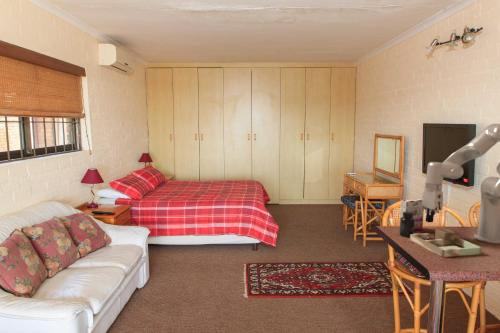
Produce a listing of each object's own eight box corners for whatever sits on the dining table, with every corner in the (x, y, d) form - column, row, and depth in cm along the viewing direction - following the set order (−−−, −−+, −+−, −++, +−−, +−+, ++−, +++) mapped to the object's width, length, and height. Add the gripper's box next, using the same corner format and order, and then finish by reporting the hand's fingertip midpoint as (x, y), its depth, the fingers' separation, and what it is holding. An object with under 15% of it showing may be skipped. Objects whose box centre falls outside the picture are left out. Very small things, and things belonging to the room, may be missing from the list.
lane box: (445, 237, 180) (445, 232, 179) (481, 254, 158) (481, 247, 158) (409, 240, 176) (410, 234, 175) (442, 257, 154) (442, 250, 154)
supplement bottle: (415, 237, 179) (416, 214, 178) (400, 236, 181) (402, 213, 179) (411, 233, 186) (413, 211, 184) (397, 232, 187) (399, 210, 186)
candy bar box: (416, 227, 198) (418, 198, 195) (422, 229, 193) (425, 200, 191) (398, 228, 195) (401, 199, 192) (405, 231, 190) (407, 201, 188)
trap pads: (427, 239, 176) (427, 239, 176) (452, 252, 160) (452, 251, 160) (413, 240, 175) (413, 240, 175) (437, 253, 159) (437, 252, 159)
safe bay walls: (465, 246, 167) (465, 240, 167) (481, 254, 158) (481, 247, 158) (429, 249, 163) (430, 243, 163) (444, 256, 155) (444, 250, 154)
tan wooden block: (445, 240, 176) (446, 228, 176) (454, 244, 171) (455, 232, 170) (434, 241, 175) (435, 229, 174) (443, 245, 169) (444, 233, 169)
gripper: (451, 189, 173) (446, 226, 175) (429, 183, 187) (425, 217, 190) (437, 189, 171) (433, 226, 174) (417, 183, 186) (413, 217, 188)
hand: (429, 221), depth 182 cm, fingers closed
